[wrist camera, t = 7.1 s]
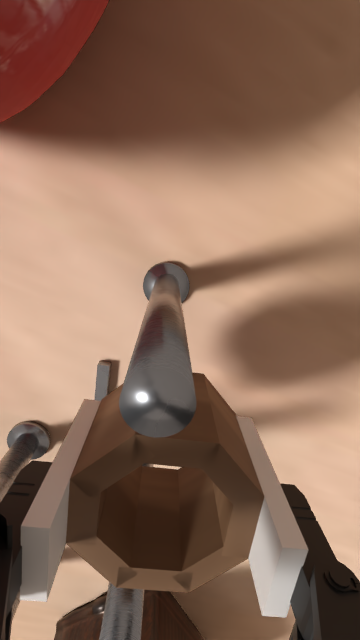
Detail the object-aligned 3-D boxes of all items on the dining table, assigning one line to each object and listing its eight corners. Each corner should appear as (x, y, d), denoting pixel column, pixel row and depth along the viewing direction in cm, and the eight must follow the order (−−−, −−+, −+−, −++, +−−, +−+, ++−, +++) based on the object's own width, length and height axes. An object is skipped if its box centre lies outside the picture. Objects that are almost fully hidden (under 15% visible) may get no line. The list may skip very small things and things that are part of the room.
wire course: (8, 571, 27) (-174, 953, 13) (11, 238, 20) (-404, 259, 6) (141, 582, 28) (111, 953, 14) (192, 265, 21) (243, 346, 6)
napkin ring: (94, 478, 16) (62, 583, 11) (105, 361, 14) (72, 427, 10) (219, 489, 17) (239, 596, 12) (243, 378, 15) (277, 449, 10)
